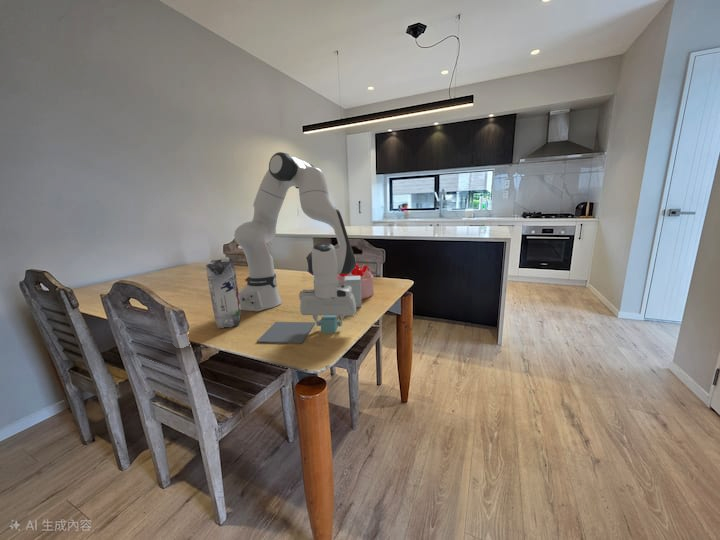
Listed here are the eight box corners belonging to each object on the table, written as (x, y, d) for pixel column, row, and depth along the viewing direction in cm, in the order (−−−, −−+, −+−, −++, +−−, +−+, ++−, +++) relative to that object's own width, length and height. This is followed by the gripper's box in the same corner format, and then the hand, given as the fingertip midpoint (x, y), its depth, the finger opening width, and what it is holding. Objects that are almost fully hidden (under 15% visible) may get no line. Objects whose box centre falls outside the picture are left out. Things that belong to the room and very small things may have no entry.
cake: (376, 288, 152) (375, 262, 149) (370, 301, 133) (369, 271, 129) (340, 287, 156) (338, 262, 152) (330, 300, 136) (327, 271, 133)
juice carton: (215, 330, 109) (202, 261, 102) (220, 320, 119) (209, 256, 112) (240, 327, 111) (229, 259, 104) (243, 317, 121) (233, 254, 114)
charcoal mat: (256, 342, 98) (256, 341, 98) (276, 323, 113) (275, 321, 113) (301, 343, 96) (301, 342, 95) (315, 323, 111) (315, 322, 111)
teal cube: (321, 332, 103) (320, 320, 102) (324, 326, 108) (323, 314, 107) (335, 333, 102) (334, 320, 101) (337, 327, 107) (337, 314, 106)
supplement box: (361, 307, 126) (360, 279, 123) (345, 307, 126) (343, 280, 123) (362, 301, 133) (360, 275, 130) (346, 302, 133) (344, 275, 130)
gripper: (295, 292, 100) (299, 328, 103) (353, 292, 97) (355, 329, 100) (301, 287, 106) (304, 321, 109) (356, 286, 103) (357, 322, 106)
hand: (329, 325), depth 105 cm, fingers open, 6 cm apart
